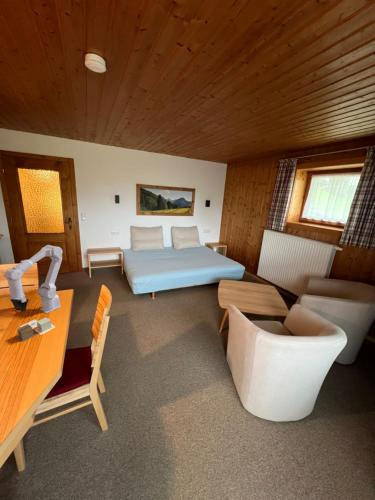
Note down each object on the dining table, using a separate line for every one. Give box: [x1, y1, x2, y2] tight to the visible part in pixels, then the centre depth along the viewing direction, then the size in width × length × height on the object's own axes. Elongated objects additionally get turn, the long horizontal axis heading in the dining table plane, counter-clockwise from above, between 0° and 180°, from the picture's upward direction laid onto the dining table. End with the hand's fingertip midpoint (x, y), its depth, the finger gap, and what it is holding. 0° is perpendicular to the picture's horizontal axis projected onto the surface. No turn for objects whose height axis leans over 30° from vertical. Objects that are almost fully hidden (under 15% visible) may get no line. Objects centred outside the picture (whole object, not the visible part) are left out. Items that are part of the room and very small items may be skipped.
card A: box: [19, 319, 38, 330], centre depth 118 cm, size 8×8×1 cm
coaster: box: [16, 331, 38, 343], centre depth 110 cm, size 7×7×1 cm
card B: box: [33, 323, 56, 335], centre depth 116 cm, size 8×8×1 cm
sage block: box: [36, 317, 52, 332], centre depth 116 cm, size 5×5×5 cm
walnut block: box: [16, 324, 34, 340], centre depth 109 cm, size 5×5×5 cm
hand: (20, 308), depth 118 cm, fingers open, 7 cm apart
